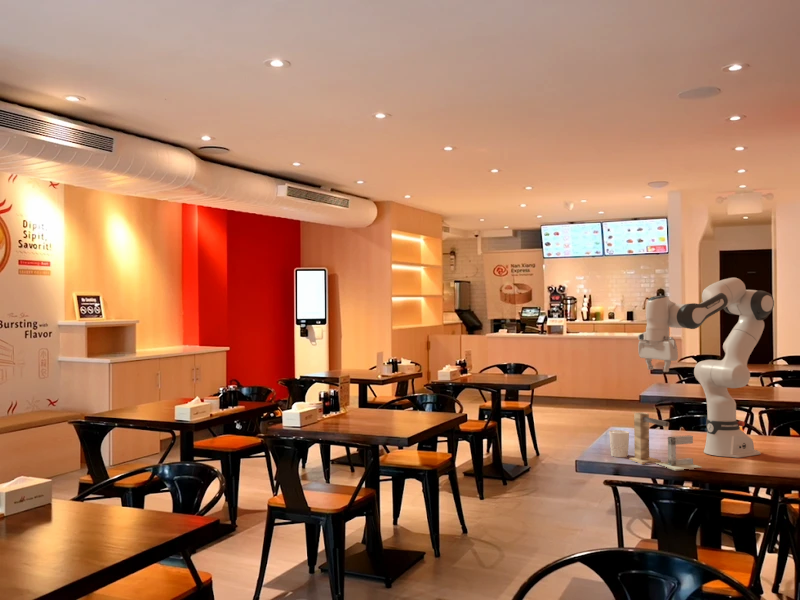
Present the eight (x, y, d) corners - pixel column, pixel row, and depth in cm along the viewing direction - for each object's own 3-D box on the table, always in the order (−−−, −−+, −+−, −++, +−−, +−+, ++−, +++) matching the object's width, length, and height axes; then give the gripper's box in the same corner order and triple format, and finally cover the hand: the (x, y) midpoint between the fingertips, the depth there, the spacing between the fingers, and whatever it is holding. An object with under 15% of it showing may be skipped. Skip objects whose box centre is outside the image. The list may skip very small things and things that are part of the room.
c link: (689, 462, 280) (689, 435, 280) (693, 464, 278) (692, 436, 278) (668, 464, 277) (667, 436, 277) (671, 465, 275) (671, 437, 275)
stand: (648, 458, 291) (647, 412, 291) (677, 468, 273) (677, 418, 274) (629, 460, 288) (628, 413, 288) (657, 470, 271) (657, 419, 271)
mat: (680, 461, 284) (680, 460, 284) (701, 468, 273) (701, 466, 273) (655, 464, 281) (655, 462, 281) (675, 470, 269) (675, 469, 269)
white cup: (630, 458, 292) (630, 433, 292) (610, 457, 294) (610, 433, 294) (628, 454, 300) (628, 430, 300) (608, 453, 302) (608, 429, 302)
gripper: (681, 337, 278) (682, 372, 278) (648, 335, 298) (648, 368, 298) (668, 337, 276) (668, 373, 276) (635, 335, 296) (635, 368, 296)
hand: (658, 370), depth 287 cm, fingers open, 8 cm apart
